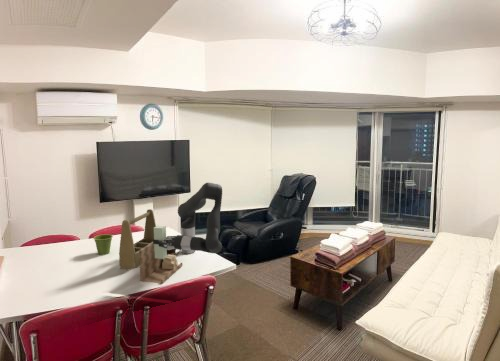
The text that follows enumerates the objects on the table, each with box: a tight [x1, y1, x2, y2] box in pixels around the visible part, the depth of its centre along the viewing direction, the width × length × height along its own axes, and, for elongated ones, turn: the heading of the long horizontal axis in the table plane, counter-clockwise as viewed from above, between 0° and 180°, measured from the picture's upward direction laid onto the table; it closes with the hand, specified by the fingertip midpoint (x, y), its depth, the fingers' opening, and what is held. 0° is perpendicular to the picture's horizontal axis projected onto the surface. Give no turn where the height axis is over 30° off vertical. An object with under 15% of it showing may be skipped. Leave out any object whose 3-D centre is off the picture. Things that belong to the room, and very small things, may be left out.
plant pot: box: [93, 233, 114, 256], centre depth 216 cm, size 12×12×11 cm
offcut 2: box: [162, 259, 179, 269], centre depth 191 cm, size 6×7×4 cm
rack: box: [139, 243, 183, 284], centre depth 181 cm, size 24×13×18 cm, turn 167°
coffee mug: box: [167, 246, 181, 257], centre depth 200 cm, size 12×9×10 cm
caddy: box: [118, 209, 157, 270], centre depth 202 cm, size 29×11×30 cm, turn 168°
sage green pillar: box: [154, 225, 167, 259], centre depth 175 cm, size 4×5×17 cm
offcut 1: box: [163, 254, 177, 263], centre depth 190 cm, size 5×6×3 cm
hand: (155, 240), depth 176 cm, fingers closed on sage green pillar, 4 cm apart
